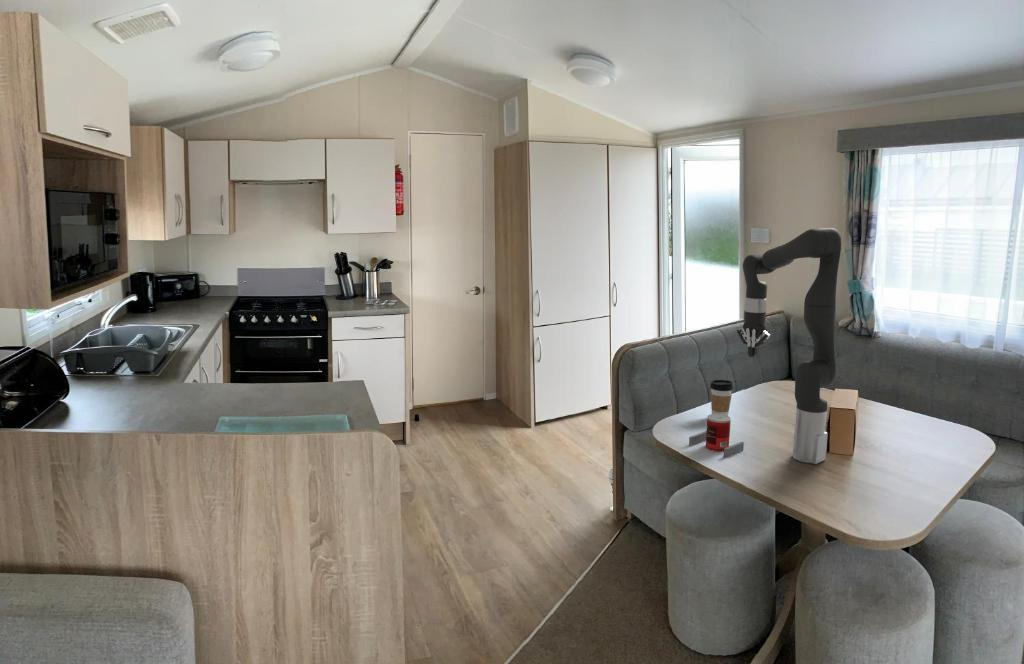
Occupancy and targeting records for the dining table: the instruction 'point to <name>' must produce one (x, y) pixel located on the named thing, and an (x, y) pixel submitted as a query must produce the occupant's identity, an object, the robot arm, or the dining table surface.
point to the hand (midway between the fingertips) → (752, 356)
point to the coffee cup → (721, 396)
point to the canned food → (718, 432)
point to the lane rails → (727, 451)
